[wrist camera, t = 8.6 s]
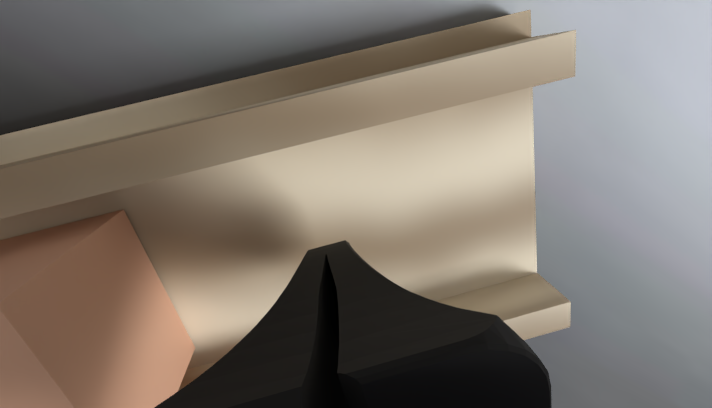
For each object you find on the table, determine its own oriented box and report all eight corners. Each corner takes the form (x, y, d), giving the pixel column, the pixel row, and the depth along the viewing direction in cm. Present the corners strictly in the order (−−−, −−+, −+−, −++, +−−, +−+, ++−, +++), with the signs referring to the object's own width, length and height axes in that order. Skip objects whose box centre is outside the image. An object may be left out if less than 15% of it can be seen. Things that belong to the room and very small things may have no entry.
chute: (524, 296, 16) (575, 348, 13) (6, 441, 15) (-69, 534, 12) (512, 14, 12) (585, -6, 9) (-224, 189, 11) (-436, 235, 8)
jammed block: (195, 347, 13) (137, 491, 9) (65, 382, 13) (-63, 549, 9) (123, 209, 11) (-4, 305, 7) (-34, 248, 11) (-280, 376, 6)
